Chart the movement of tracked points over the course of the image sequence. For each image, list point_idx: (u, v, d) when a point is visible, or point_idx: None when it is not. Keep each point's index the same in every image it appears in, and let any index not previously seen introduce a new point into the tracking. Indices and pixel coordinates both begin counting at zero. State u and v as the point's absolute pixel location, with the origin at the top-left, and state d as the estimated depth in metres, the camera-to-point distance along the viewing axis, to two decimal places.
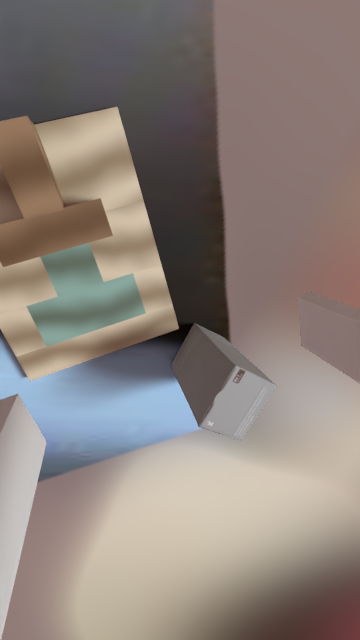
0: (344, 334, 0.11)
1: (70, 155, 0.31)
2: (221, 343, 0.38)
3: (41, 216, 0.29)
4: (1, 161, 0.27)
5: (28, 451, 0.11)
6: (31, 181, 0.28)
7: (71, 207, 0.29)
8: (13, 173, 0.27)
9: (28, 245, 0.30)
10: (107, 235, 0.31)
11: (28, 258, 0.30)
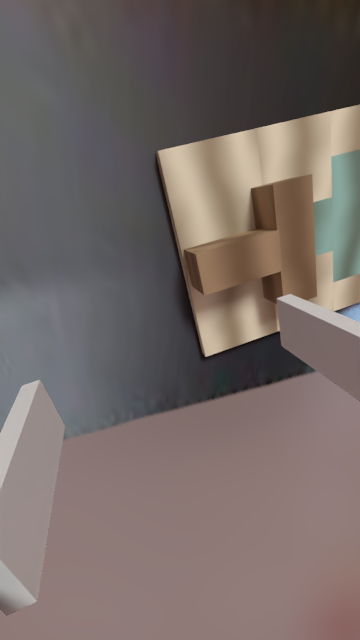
0: (317, 334, 0.11)
1: (207, 217, 0.28)
2: None
3: (281, 254, 0.27)
4: (233, 284, 0.27)
5: (50, 433, 0.11)
6: (250, 259, 0.27)
7: (277, 221, 0.26)
8: (243, 274, 0.27)
9: (303, 271, 0.29)
10: (310, 181, 0.26)
11: (314, 272, 0.29)
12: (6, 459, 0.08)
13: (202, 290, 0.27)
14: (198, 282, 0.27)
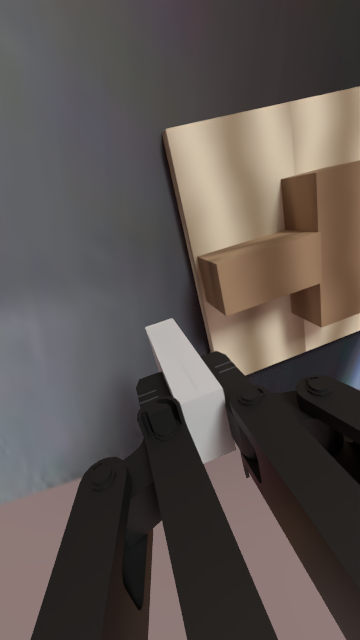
0: None
1: (226, 215, 0.22)
2: None
3: (322, 262, 0.22)
4: (261, 300, 0.21)
5: None
6: (284, 269, 0.21)
7: (319, 220, 0.20)
8: (274, 288, 0.21)
9: (347, 282, 0.23)
10: None
11: (359, 284, 0.23)
12: (176, 363, 0.11)
13: (223, 309, 0.21)
14: (217, 298, 0.21)
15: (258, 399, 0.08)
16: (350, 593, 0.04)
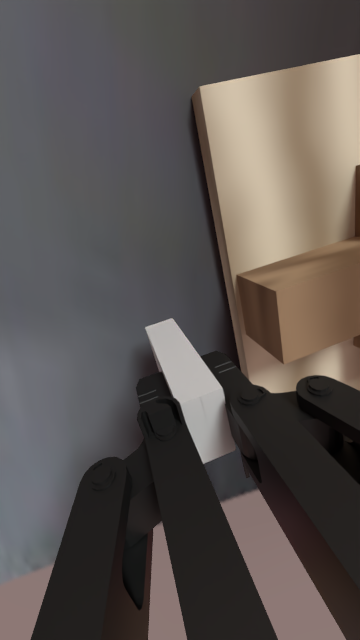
0: None
1: (279, 217, 0.16)
2: None
3: None
4: (334, 340, 0.15)
5: None
6: None
7: None
8: (353, 323, 0.15)
9: None
10: None
11: None
12: (176, 363, 0.11)
13: (279, 354, 0.14)
14: (269, 337, 0.15)
15: (258, 399, 0.08)
16: (350, 593, 0.04)
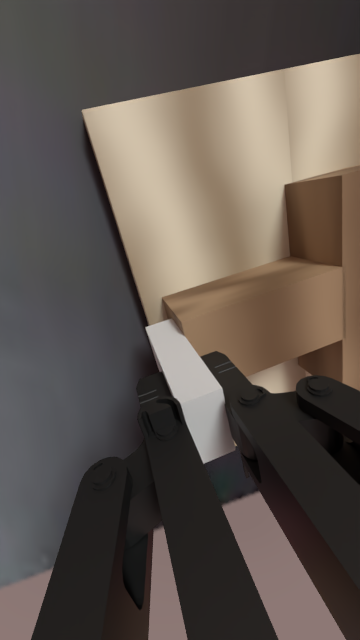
0: None
1: (190, 242, 0.15)
2: None
3: (346, 309, 0.14)
4: (255, 369, 0.14)
5: None
6: (289, 322, 0.14)
7: (345, 249, 0.13)
8: (274, 351, 0.14)
9: None
10: None
11: None
12: (176, 362, 0.11)
13: None
14: None
15: (258, 399, 0.08)
16: (350, 593, 0.04)
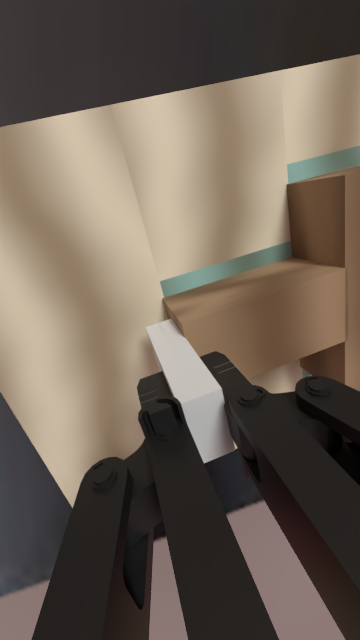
0: None
1: (27, 292, 0.14)
2: None
3: (349, 311, 0.14)
4: (256, 371, 0.14)
5: None
6: (291, 324, 0.13)
7: (348, 249, 0.13)
8: (276, 353, 0.14)
9: None
10: None
11: None
12: (176, 362, 0.11)
13: None
14: None
15: (257, 399, 0.08)
16: (348, 593, 0.04)
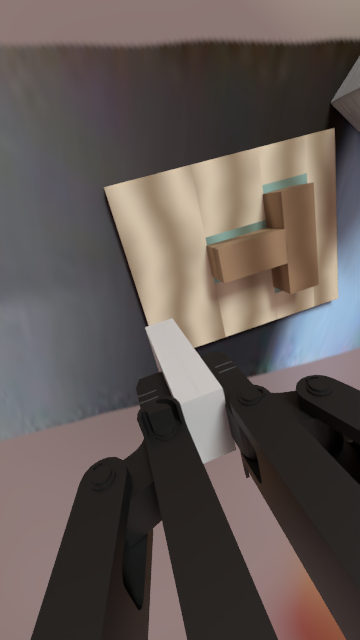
0: None
1: (152, 240, 0.33)
2: None
3: (288, 248, 0.33)
4: (247, 273, 0.33)
5: None
6: (262, 253, 0.32)
7: (285, 221, 0.32)
8: (256, 266, 0.33)
9: (307, 263, 0.34)
10: (312, 188, 0.31)
11: (316, 264, 0.34)
12: (176, 363, 0.11)
13: (222, 279, 0.33)
14: (219, 272, 0.33)
15: (258, 399, 0.08)
16: (350, 593, 0.04)
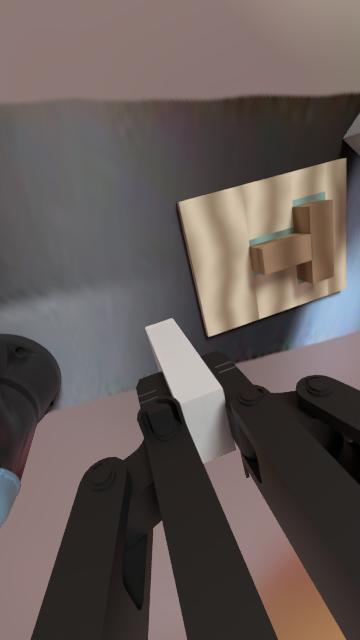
0: None
1: (209, 242, 0.43)
2: None
3: (312, 249, 0.43)
4: (282, 267, 0.43)
5: None
6: (294, 252, 0.43)
7: (311, 228, 0.42)
8: (289, 261, 0.43)
9: (326, 260, 0.45)
10: (331, 203, 0.42)
11: (333, 261, 0.45)
12: (176, 363, 0.11)
13: (263, 271, 0.43)
14: (260, 267, 0.43)
15: (258, 399, 0.08)
16: (350, 593, 0.04)
